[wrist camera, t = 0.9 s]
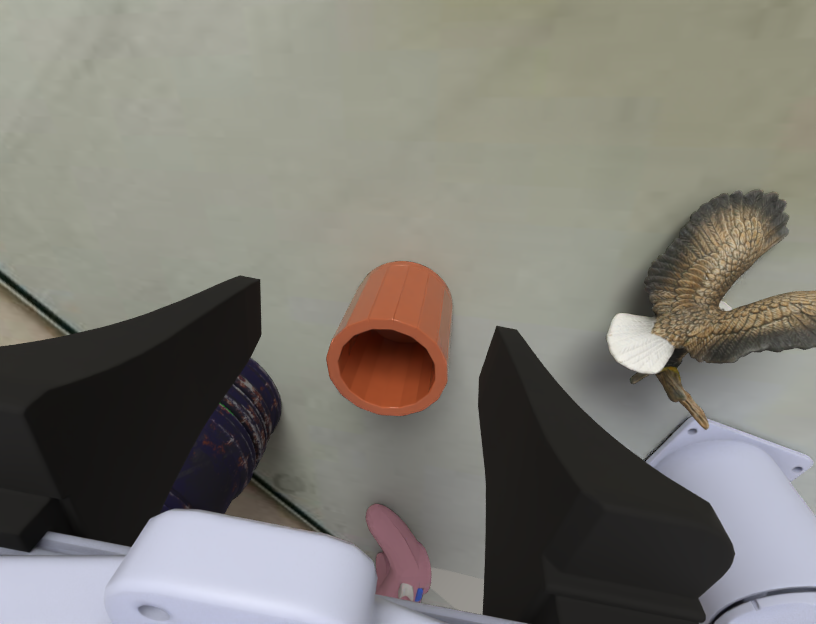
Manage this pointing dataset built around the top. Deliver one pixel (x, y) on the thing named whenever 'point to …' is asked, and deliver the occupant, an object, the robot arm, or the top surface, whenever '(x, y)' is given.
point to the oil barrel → (228, 445)
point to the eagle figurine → (712, 297)
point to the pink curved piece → (398, 557)
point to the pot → (394, 341)
